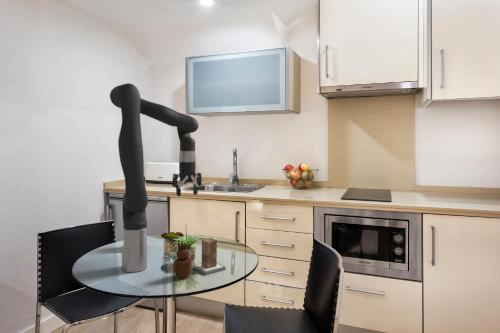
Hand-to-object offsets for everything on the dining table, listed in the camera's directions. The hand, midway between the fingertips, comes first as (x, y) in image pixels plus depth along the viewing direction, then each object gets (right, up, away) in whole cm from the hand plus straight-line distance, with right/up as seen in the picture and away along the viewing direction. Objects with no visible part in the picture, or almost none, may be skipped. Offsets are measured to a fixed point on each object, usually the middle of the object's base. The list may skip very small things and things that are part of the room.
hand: (187, 195), depth 161 cm
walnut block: (+12, -28, -16) cm, 35 cm away
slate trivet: (+12, -30, -16) cm, 36 cm away
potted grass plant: (+3, -30, -25) cm, 39 cm away
